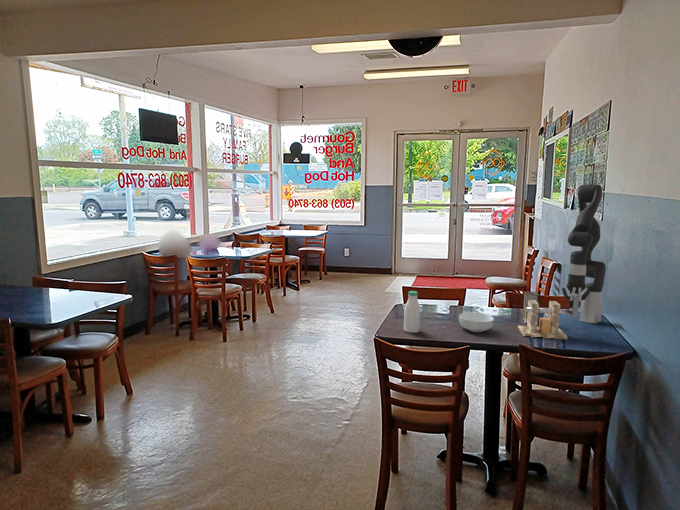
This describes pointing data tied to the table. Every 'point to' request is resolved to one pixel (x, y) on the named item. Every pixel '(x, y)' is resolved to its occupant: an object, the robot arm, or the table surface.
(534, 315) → the stand
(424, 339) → the table surface
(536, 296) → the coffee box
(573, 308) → the shaft
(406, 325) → the milk bottle
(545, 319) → the spacer
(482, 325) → the cereal bowl
